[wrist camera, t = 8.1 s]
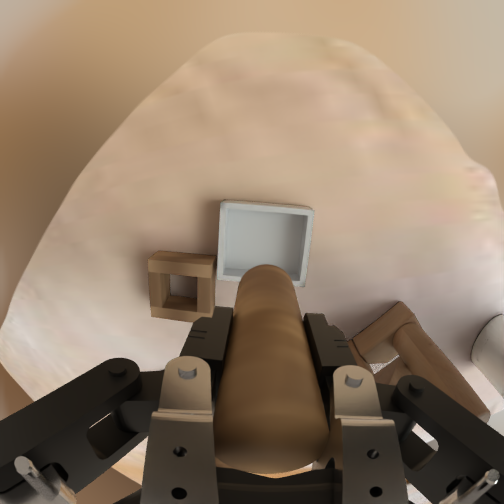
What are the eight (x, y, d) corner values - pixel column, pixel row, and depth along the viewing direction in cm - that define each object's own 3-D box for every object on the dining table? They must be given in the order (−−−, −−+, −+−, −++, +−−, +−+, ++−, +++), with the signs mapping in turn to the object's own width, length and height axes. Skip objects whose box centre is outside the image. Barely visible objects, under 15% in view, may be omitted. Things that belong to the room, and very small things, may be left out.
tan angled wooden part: (325, 355, 30) (363, 488, 13) (400, 298, 28) (492, 403, 11) (341, 371, 31) (380, 495, 14) (411, 318, 29) (494, 420, 12)
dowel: (296, 266, 15) (345, 410, 5) (289, 316, 16) (315, 472, 6) (240, 262, 15) (207, 406, 5) (236, 312, 16) (210, 469, 6)
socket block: (216, 255, 27) (210, 265, 25) (214, 310, 29) (209, 324, 26) (158, 250, 28) (147, 259, 25) (160, 303, 29) (151, 316, 26)
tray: (309, 207, 26) (314, 210, 23) (300, 277, 28) (304, 286, 25) (224, 199, 26) (220, 202, 24) (220, 270, 28) (216, 279, 25)
